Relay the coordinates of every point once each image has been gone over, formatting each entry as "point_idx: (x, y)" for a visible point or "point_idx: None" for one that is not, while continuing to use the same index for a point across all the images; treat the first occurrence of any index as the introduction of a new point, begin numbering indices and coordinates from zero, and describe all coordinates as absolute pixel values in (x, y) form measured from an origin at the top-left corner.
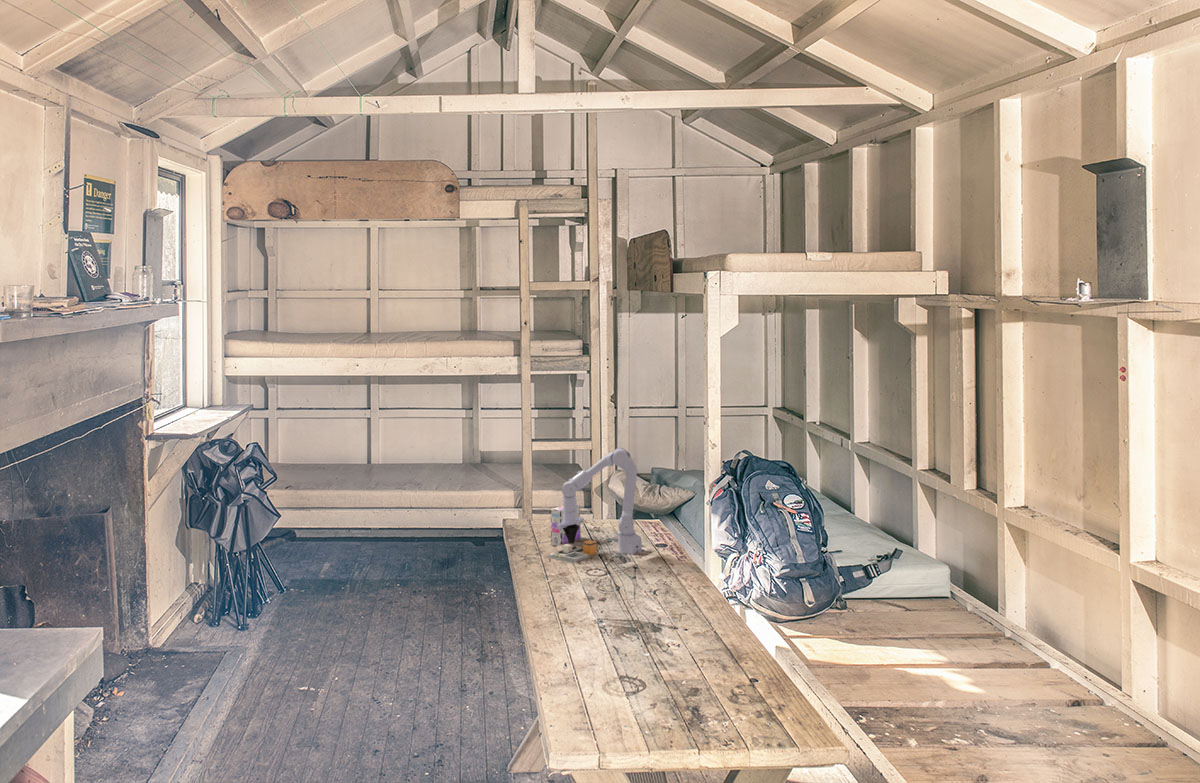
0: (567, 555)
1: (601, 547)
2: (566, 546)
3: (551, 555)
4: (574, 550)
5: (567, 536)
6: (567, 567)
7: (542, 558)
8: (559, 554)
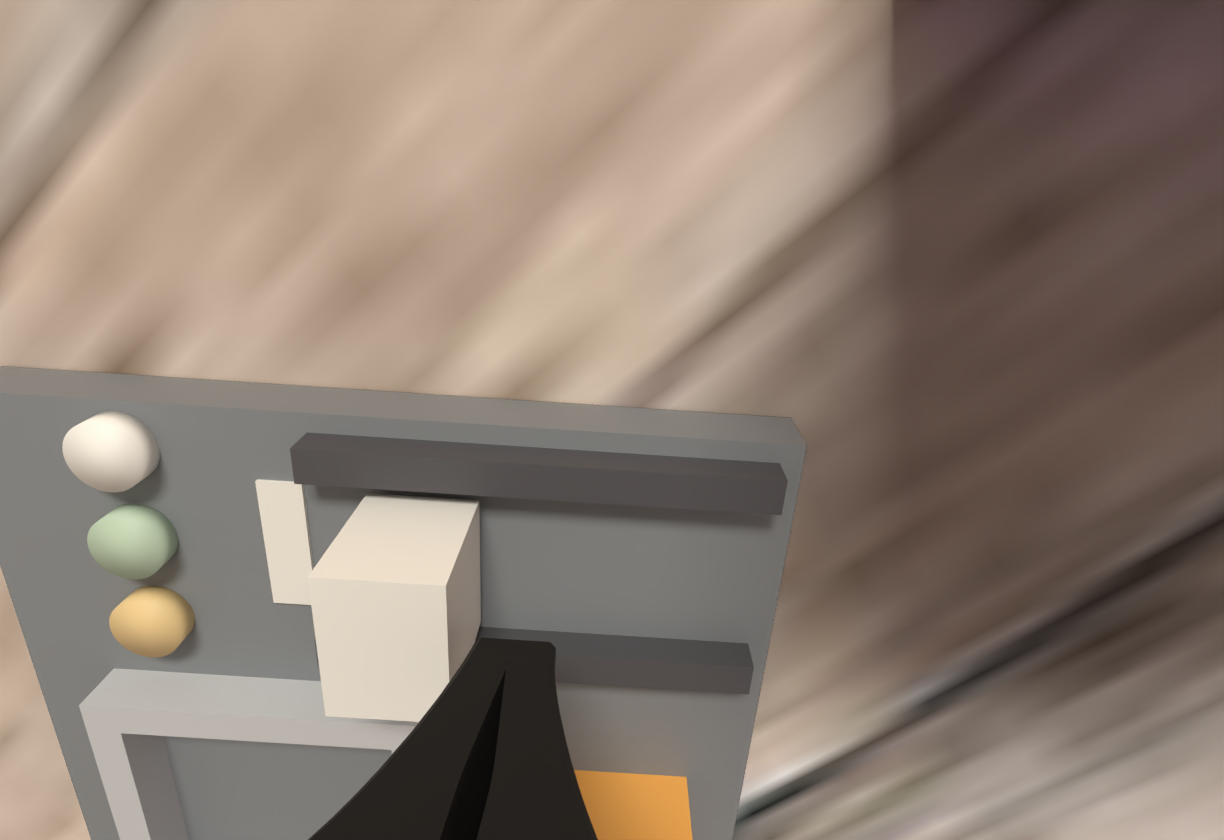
0: (217, 727)
1: (1161, 638)
2: (323, 671)
3: (77, 447)
4: (621, 560)
5: (406, 763)
6: (74, 801)
7: (44, 220)
8: (258, 500)
